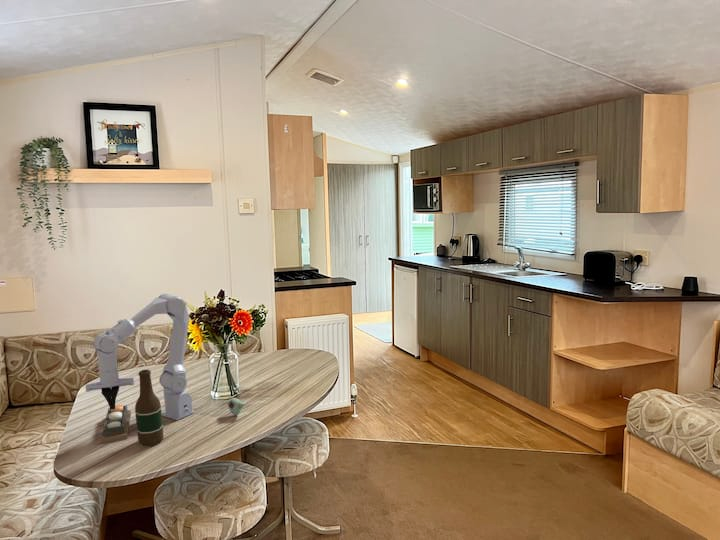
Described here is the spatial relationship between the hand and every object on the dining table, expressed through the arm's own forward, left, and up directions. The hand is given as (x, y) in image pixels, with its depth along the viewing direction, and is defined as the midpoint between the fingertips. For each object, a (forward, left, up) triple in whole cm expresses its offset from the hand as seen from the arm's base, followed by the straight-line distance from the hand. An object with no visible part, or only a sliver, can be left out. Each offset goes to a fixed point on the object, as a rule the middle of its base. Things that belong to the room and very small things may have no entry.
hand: (112, 408), depth 182 cm
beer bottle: (-15, -3, -10) cm, 18 cm away
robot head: (-25, -31, -10) cm, 41 cm away
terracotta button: (+10, -8, -6) cm, 14 cm away
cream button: (+5, -4, -6) cm, 9 cm away
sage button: (-1, 0, -7) cm, 7 cm away
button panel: (+5, -4, -9) cm, 11 cm away
